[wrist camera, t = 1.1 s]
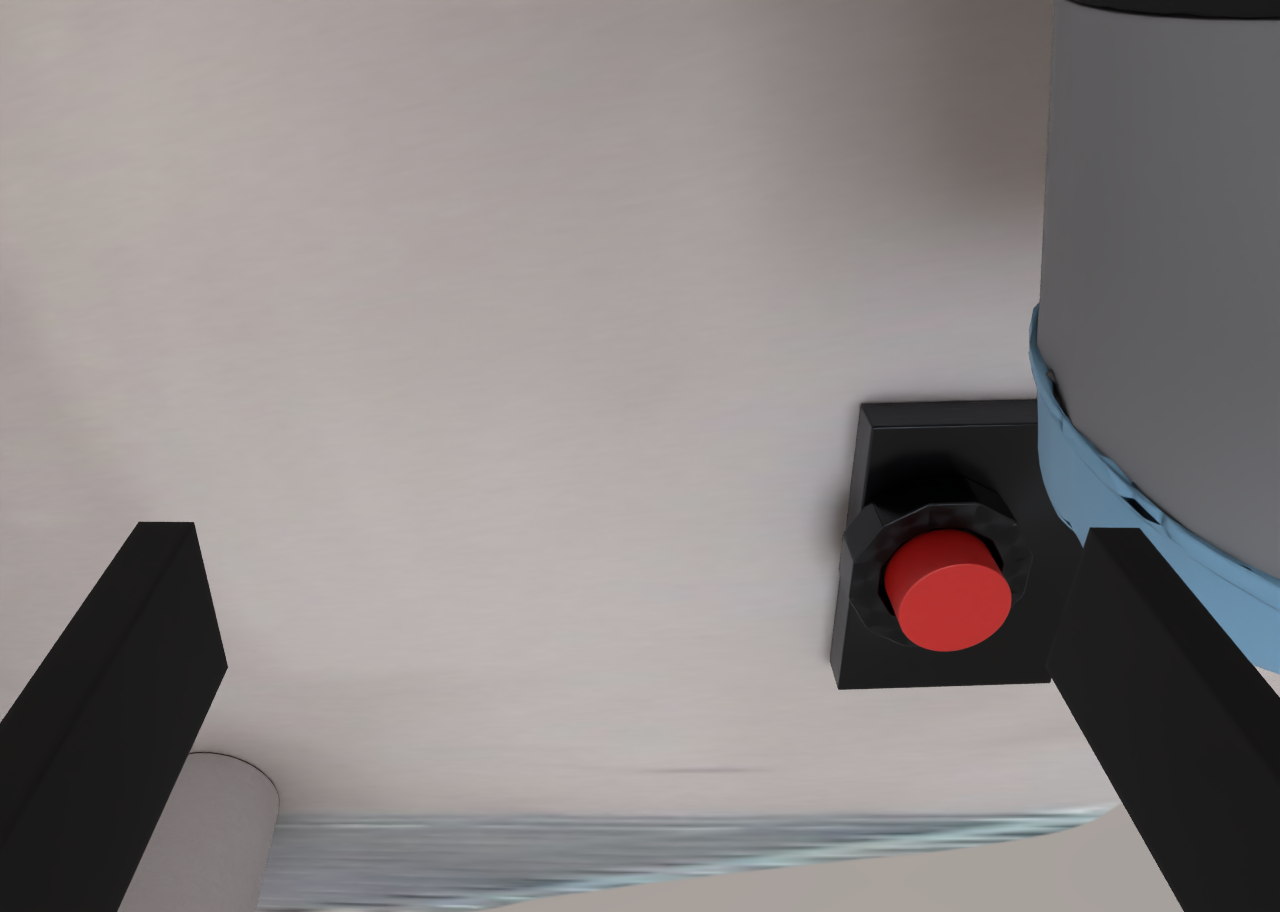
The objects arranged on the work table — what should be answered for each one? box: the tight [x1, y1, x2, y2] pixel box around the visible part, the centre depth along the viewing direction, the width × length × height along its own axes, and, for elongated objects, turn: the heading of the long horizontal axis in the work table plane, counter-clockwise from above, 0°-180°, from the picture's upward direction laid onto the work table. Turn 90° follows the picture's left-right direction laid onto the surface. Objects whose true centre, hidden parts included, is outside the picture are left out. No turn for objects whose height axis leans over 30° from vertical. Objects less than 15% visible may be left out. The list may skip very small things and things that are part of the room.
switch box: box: [830, 400, 1083, 690], centre depth 43 cm, size 14×11×4 cm
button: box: [884, 529, 1011, 651], centre depth 40 cm, size 4×4×2 cm
